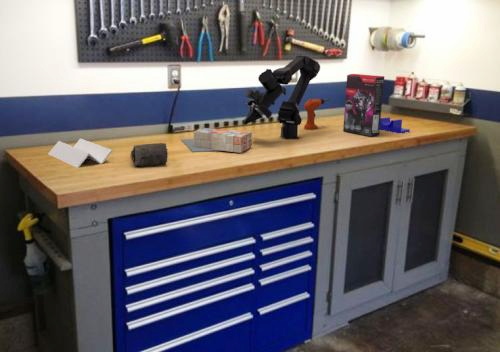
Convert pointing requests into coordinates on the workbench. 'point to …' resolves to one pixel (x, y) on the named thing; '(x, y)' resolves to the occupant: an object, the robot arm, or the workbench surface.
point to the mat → (190, 145)
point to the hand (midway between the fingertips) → (244, 123)
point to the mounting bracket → (392, 125)
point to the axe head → (149, 154)
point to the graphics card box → (363, 104)
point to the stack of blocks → (223, 139)
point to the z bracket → (80, 152)
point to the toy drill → (312, 112)
